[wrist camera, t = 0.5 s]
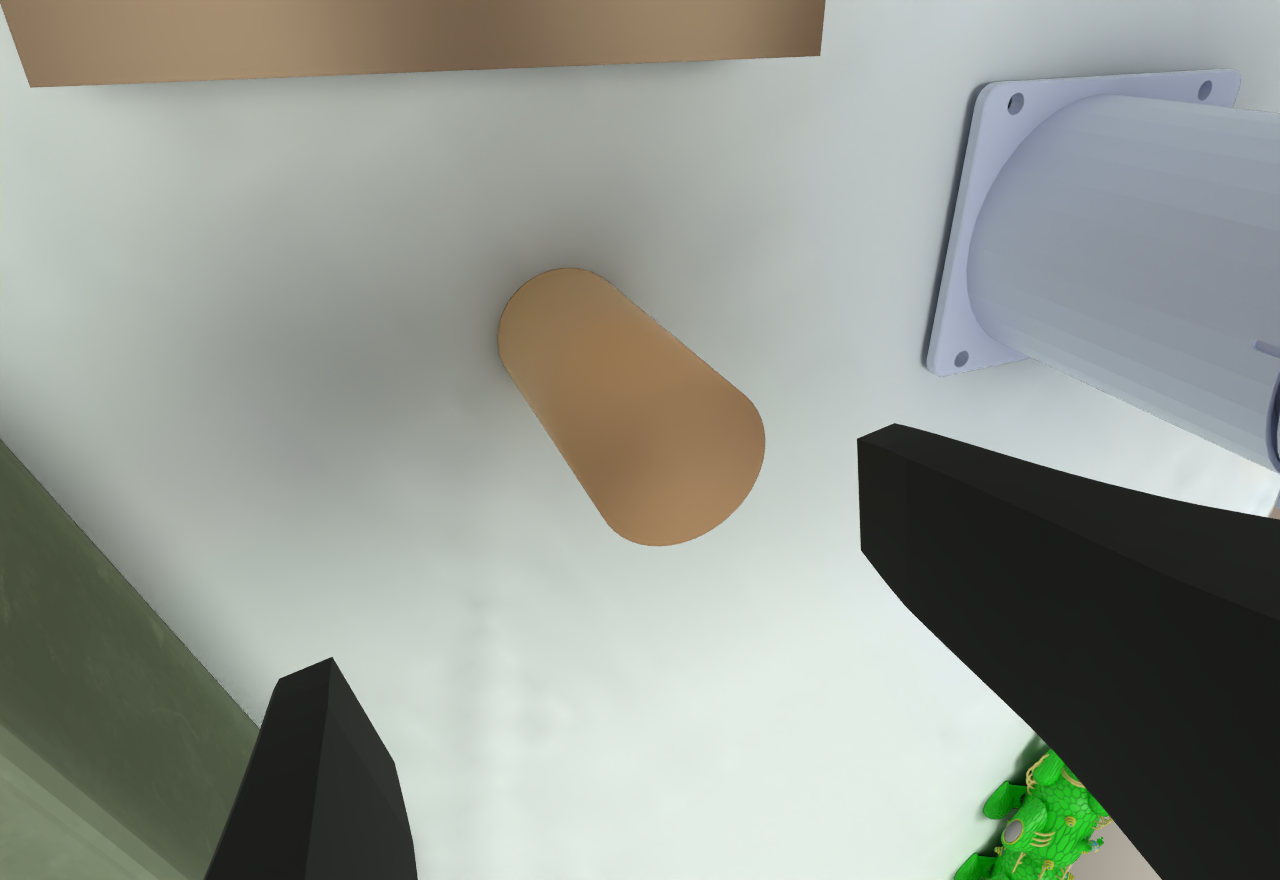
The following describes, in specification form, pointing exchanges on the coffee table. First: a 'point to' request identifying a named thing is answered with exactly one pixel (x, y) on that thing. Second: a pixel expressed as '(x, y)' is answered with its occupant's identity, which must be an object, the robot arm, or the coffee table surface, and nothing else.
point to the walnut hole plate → (388, 36)
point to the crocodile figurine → (1040, 826)
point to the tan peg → (630, 408)
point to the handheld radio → (101, 714)
